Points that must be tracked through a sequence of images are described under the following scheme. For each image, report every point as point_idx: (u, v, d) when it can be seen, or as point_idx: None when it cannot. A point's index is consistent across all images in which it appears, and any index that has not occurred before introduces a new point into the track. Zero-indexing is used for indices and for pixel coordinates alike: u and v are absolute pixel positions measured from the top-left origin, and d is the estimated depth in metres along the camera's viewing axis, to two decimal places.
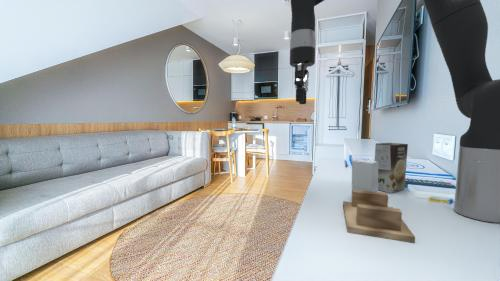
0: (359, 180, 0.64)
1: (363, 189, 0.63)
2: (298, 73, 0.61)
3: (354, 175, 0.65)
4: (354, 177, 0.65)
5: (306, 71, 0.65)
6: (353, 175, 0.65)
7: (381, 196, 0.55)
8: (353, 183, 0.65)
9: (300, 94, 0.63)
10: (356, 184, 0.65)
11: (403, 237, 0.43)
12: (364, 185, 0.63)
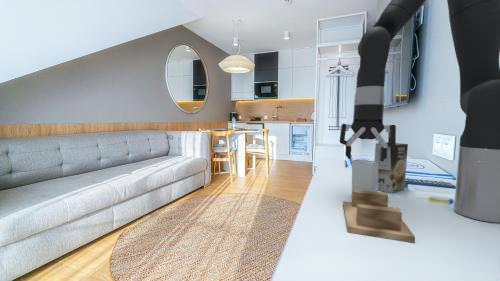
0: (359, 180, 0.64)
1: (363, 189, 0.63)
2: None
3: (354, 175, 0.65)
4: (354, 177, 0.65)
5: None
6: (353, 175, 0.65)
7: (381, 196, 0.55)
8: (353, 183, 0.65)
9: None
10: (356, 184, 0.65)
11: (403, 237, 0.43)
12: (364, 185, 0.63)
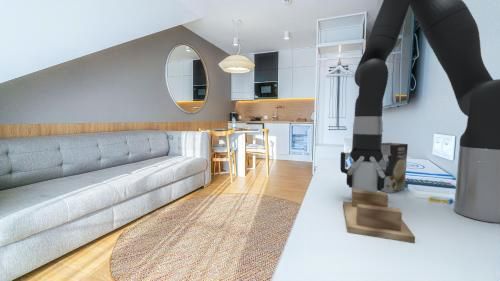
0: (359, 180, 0.64)
1: (363, 189, 0.63)
2: None
3: (354, 175, 0.65)
4: (354, 177, 0.65)
5: None
6: (353, 175, 0.65)
7: (381, 196, 0.55)
8: (353, 183, 0.65)
9: None
10: (356, 184, 0.65)
11: (403, 237, 0.43)
12: (364, 185, 0.63)
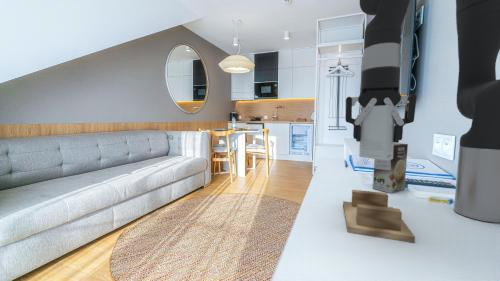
0: (369, 131, 0.50)
1: (375, 141, 0.49)
2: None
3: (364, 124, 0.51)
4: (363, 127, 0.51)
5: None
6: (362, 125, 0.51)
7: (381, 196, 0.55)
8: (362, 135, 0.51)
9: None
10: (365, 136, 0.51)
11: (403, 237, 0.43)
12: (376, 136, 0.49)
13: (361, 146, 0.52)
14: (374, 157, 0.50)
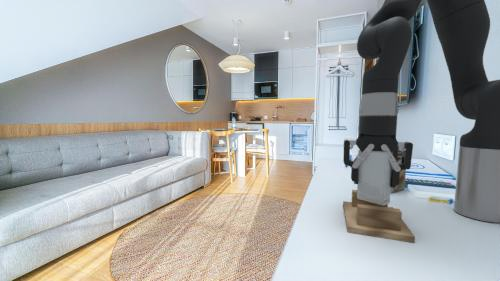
0: (367, 175, 0.51)
1: (372, 186, 0.50)
2: None
3: (361, 168, 0.52)
4: (361, 171, 0.52)
5: None
6: (360, 168, 0.52)
7: None
8: (360, 178, 0.52)
9: None
10: (363, 180, 0.52)
11: (403, 237, 0.43)
12: (374, 181, 0.50)
13: (359, 188, 0.53)
14: (372, 201, 0.50)
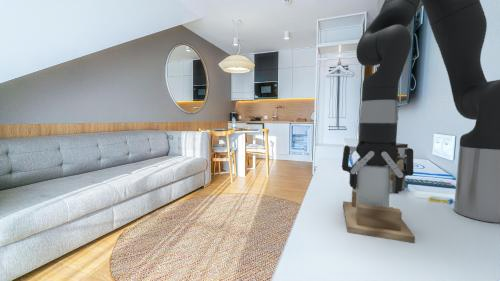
0: (365, 190, 0.51)
1: (371, 201, 0.50)
2: None
3: (360, 183, 0.52)
4: (359, 186, 0.52)
5: None
6: (358, 183, 0.52)
7: None
8: (358, 193, 0.52)
9: None
10: (361, 195, 0.52)
11: (403, 237, 0.43)
12: (372, 196, 0.50)
13: (357, 203, 0.53)
14: None
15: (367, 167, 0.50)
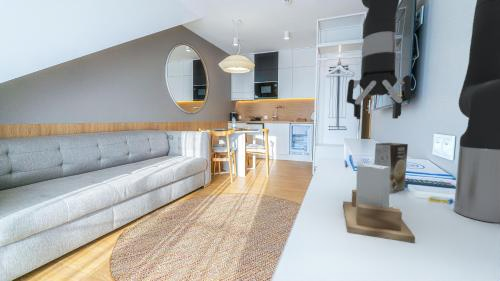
0: (365, 190, 0.51)
1: (371, 201, 0.50)
2: None
3: (360, 183, 0.52)
4: (359, 186, 0.52)
5: None
6: (358, 183, 0.52)
7: None
8: (358, 193, 0.52)
9: None
10: (361, 195, 0.52)
11: (403, 237, 0.43)
12: (372, 196, 0.50)
13: (357, 203, 0.53)
14: None
15: (367, 167, 0.50)
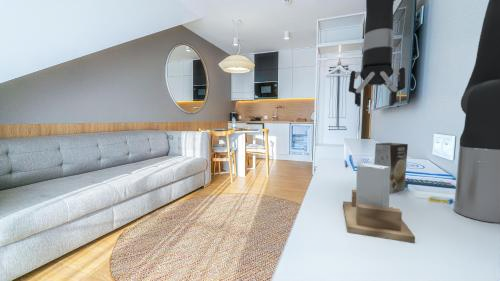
0: (365, 190, 0.51)
1: (371, 201, 0.50)
2: None
3: (360, 183, 0.52)
4: (359, 186, 0.52)
5: None
6: (358, 183, 0.52)
7: None
8: (358, 193, 0.52)
9: None
10: (361, 195, 0.52)
11: (403, 237, 0.43)
12: (372, 197, 0.50)
13: (357, 203, 0.53)
14: None
15: (367, 167, 0.50)
